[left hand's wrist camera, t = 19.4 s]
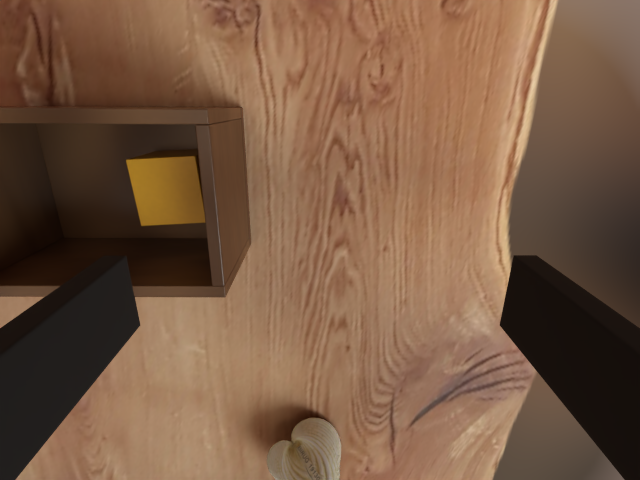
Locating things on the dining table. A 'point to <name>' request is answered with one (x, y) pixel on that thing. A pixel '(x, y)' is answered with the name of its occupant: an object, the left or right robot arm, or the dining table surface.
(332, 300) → the dining table surface
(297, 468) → the seashell
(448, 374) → the dining table surface
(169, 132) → the chest
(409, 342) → the dining table surface
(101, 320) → the left robot arm
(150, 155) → the block
